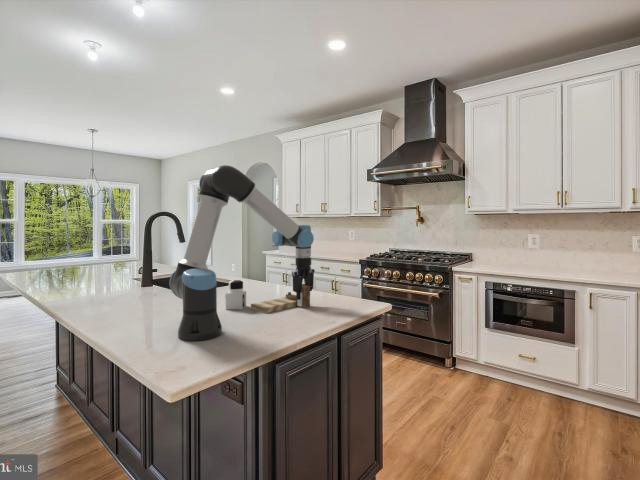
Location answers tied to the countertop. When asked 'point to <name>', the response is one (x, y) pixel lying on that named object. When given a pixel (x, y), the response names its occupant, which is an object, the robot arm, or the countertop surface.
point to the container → (236, 296)
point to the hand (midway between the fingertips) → (303, 305)
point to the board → (274, 305)
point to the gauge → (305, 296)
